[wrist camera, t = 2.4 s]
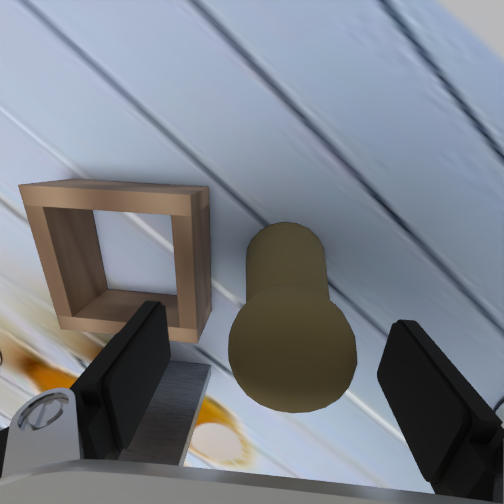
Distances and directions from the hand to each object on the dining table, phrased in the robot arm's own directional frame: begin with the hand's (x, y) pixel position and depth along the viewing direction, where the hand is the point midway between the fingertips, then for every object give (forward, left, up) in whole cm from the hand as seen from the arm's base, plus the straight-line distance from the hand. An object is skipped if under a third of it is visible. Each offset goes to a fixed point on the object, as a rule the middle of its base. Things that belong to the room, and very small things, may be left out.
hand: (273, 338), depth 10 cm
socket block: (+10, 0, -9) cm, 14 cm away
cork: (-1, 0, -9) cm, 9 cm away
